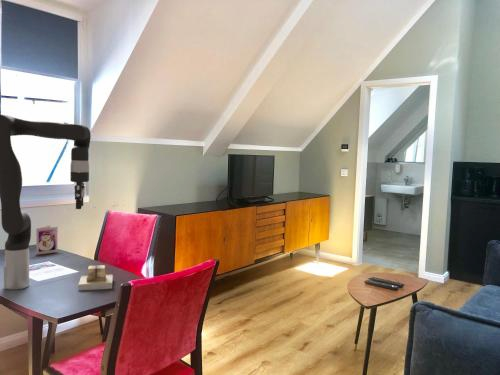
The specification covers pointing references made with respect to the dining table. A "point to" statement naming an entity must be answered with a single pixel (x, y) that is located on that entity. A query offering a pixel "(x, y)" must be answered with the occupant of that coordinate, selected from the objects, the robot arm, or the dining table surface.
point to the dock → (95, 283)
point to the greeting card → (46, 240)
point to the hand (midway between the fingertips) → (79, 207)
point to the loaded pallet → (96, 273)
